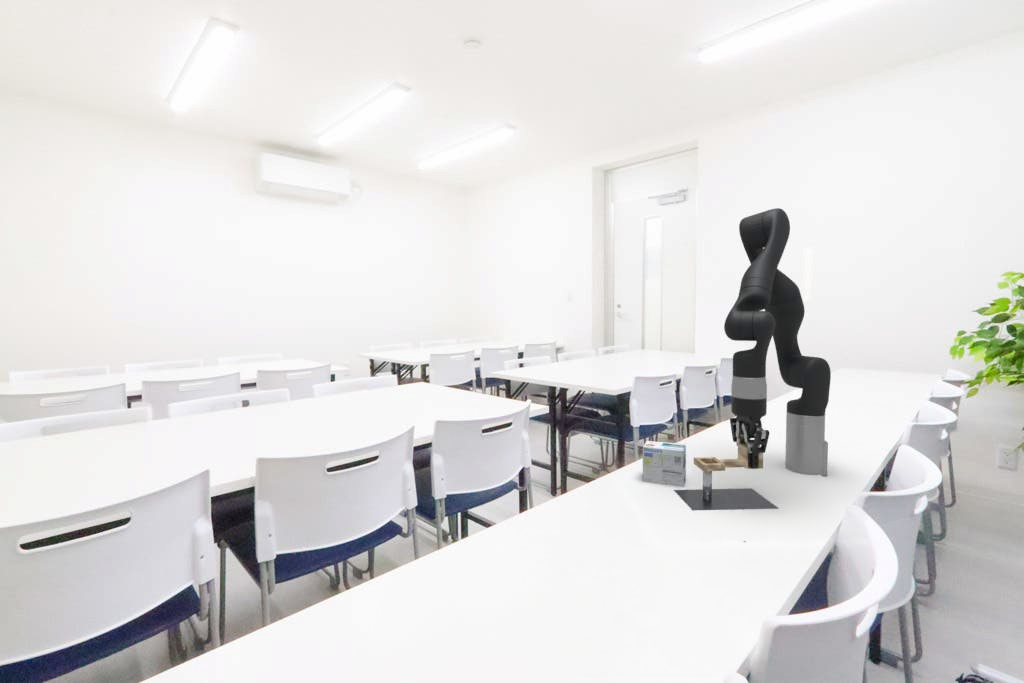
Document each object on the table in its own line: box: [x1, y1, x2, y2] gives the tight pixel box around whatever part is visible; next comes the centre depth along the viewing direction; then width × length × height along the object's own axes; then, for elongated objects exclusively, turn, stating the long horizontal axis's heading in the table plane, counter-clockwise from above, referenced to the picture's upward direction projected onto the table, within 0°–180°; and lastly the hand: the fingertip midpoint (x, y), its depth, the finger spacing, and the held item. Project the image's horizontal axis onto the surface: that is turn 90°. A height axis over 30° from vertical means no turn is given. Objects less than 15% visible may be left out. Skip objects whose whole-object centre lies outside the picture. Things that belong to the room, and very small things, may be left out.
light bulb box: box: [642, 440, 687, 488], centre depth 125 cm, size 11×7×11 cm, turn 65°
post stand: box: [673, 471, 780, 511], centre depth 112 cm, size 20×12×9 cm, turn 91°
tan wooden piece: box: [693, 443, 764, 472], centre depth 111 cm, size 15×5×5 cm, turn 91°
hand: (748, 464), depth 111 cm, fingers closed on tan wooden piece, 4 cm apart
